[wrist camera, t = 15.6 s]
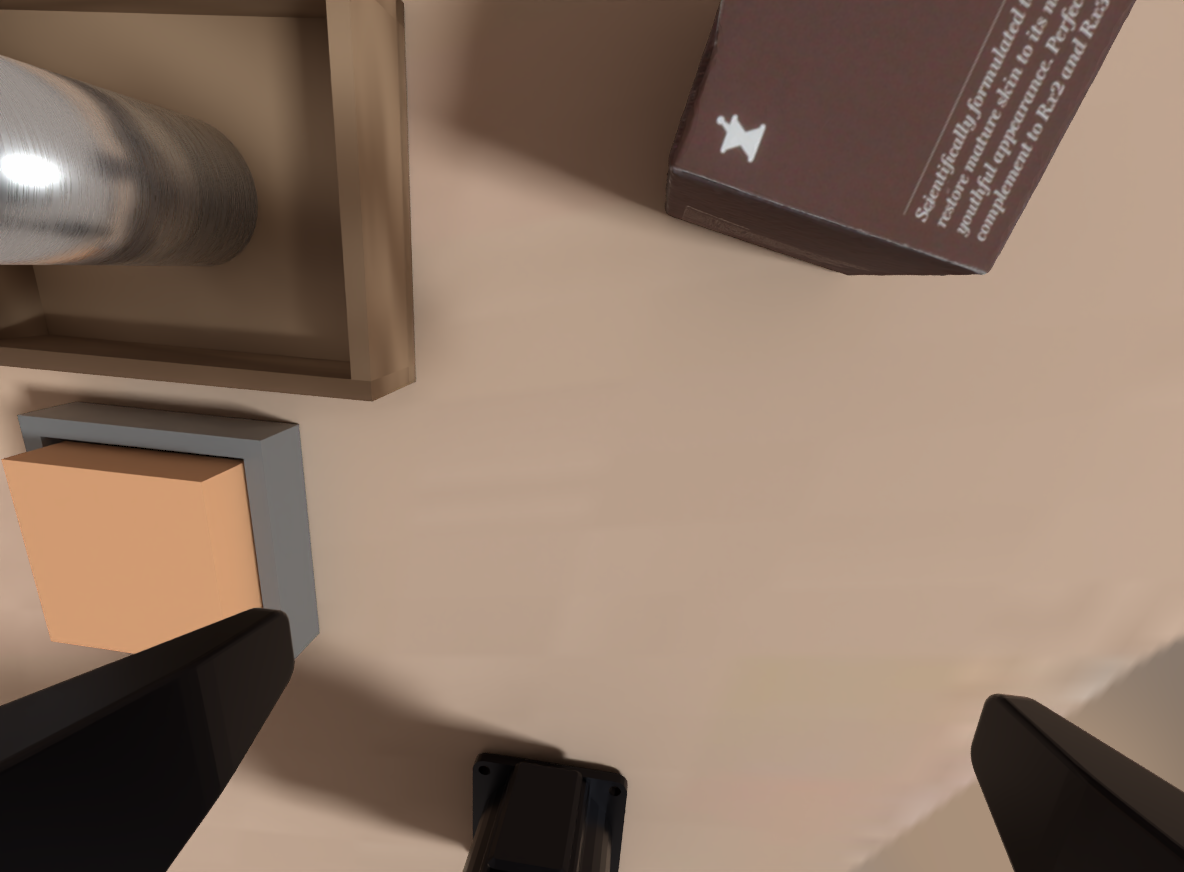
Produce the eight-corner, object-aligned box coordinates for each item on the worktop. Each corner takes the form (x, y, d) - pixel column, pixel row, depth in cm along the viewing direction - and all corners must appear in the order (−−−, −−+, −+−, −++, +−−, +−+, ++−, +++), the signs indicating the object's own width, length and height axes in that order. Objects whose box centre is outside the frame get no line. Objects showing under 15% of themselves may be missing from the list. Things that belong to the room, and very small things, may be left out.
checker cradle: (319, 632, 23) (288, 666, 21) (121, 605, 23) (74, 635, 22) (298, 424, 20) (260, 440, 18) (76, 401, 21) (17, 414, 19)
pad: (269, 631, 21) (231, 668, 19) (104, 608, 22) (51, 641, 20) (247, 460, 19) (201, 482, 17) (65, 440, 20) (1, 459, 18)
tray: (415, 381, 19) (372, 401, 16) (52, 347, 20) (-48, 360, 17) (403, 3, 16) (346, -57, 13) (-30, -8, 17) (-170, -64, 14)
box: (848, 280, 16) (989, 288, 9) (659, 214, 16) (659, 173, 9) (954, 54, 14) (1228, -145, 8) (739, -19, 15) (814, -285, 8)
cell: (265, 270, 18) (-4, 271, 11) (142, 261, 18) (-198, 255, 11) (249, 119, 17) (-70, 3, 9) (116, 113, 17) (-287, -4, 10)
